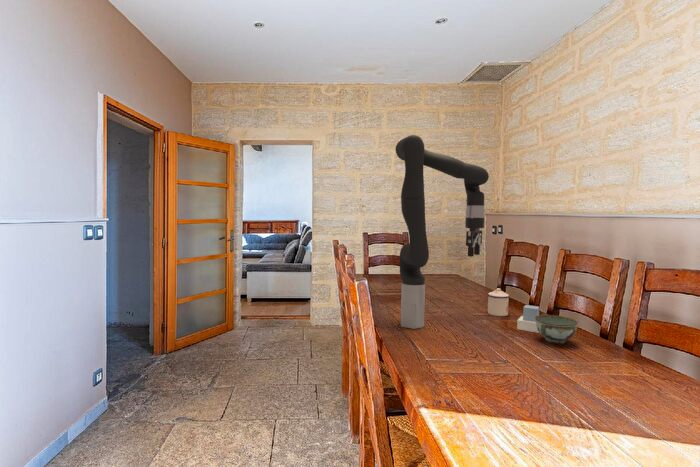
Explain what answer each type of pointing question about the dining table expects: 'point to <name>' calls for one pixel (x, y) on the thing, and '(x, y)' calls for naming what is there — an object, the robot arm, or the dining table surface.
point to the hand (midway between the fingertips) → (473, 255)
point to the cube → (530, 312)
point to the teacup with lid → (498, 303)
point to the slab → (526, 325)
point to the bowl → (556, 328)
